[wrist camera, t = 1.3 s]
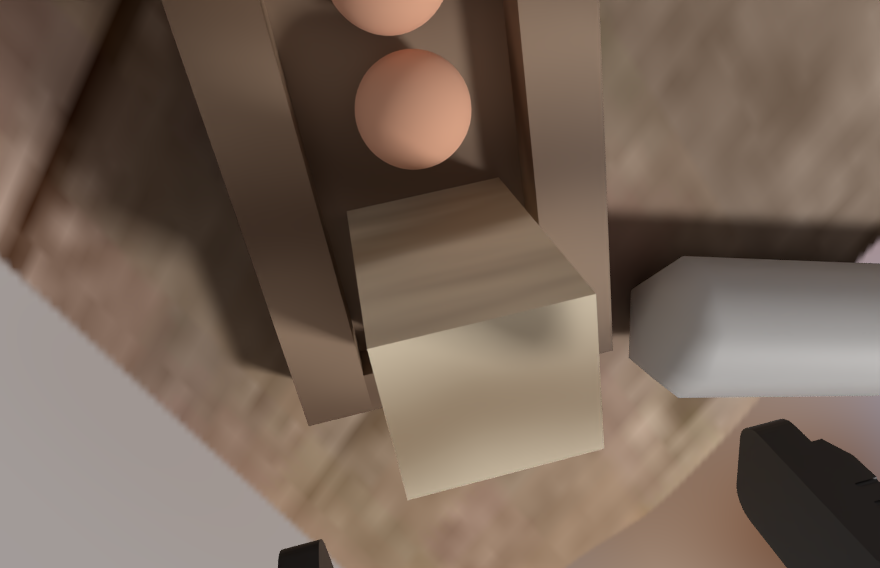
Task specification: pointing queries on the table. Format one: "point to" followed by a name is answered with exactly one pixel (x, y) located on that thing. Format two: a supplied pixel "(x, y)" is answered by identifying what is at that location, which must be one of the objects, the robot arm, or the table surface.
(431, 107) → the ball
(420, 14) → the ball
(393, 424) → the block
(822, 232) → the table surface
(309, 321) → the slot board
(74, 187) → the table surface
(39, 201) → the table surface
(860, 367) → the tube
